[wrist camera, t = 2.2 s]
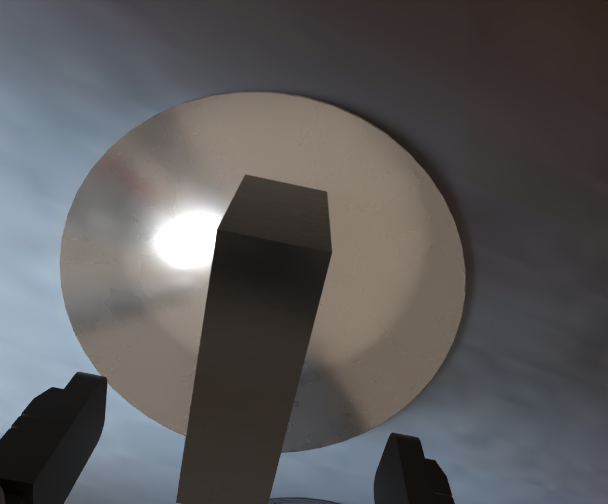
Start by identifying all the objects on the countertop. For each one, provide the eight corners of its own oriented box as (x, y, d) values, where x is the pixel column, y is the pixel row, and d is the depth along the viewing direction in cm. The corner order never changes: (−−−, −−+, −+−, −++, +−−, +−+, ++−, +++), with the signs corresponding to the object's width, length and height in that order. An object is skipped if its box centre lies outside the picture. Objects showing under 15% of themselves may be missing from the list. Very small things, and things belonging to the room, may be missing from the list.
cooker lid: (75, 43, 17) (-57, 46, 11) (519, 142, 18) (622, 194, 12) (68, 404, 23) (-18, 531, 17) (395, 461, 24) (422, 600, 18)
